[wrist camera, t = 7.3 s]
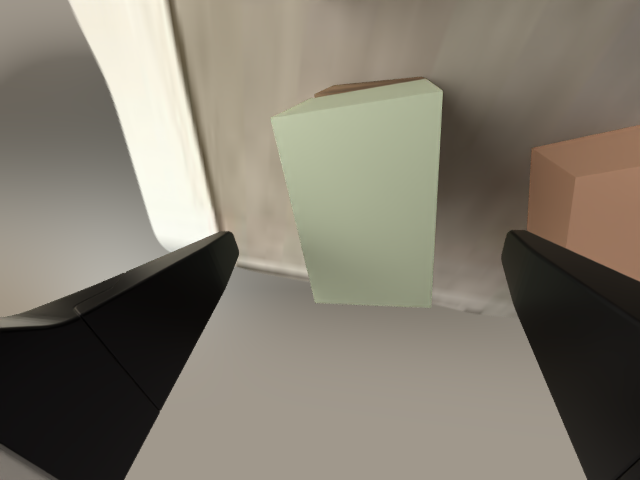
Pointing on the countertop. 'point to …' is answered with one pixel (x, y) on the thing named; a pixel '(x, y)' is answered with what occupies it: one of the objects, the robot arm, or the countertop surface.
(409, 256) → the sage brick
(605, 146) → the terracotta brick
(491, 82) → the countertop surface
